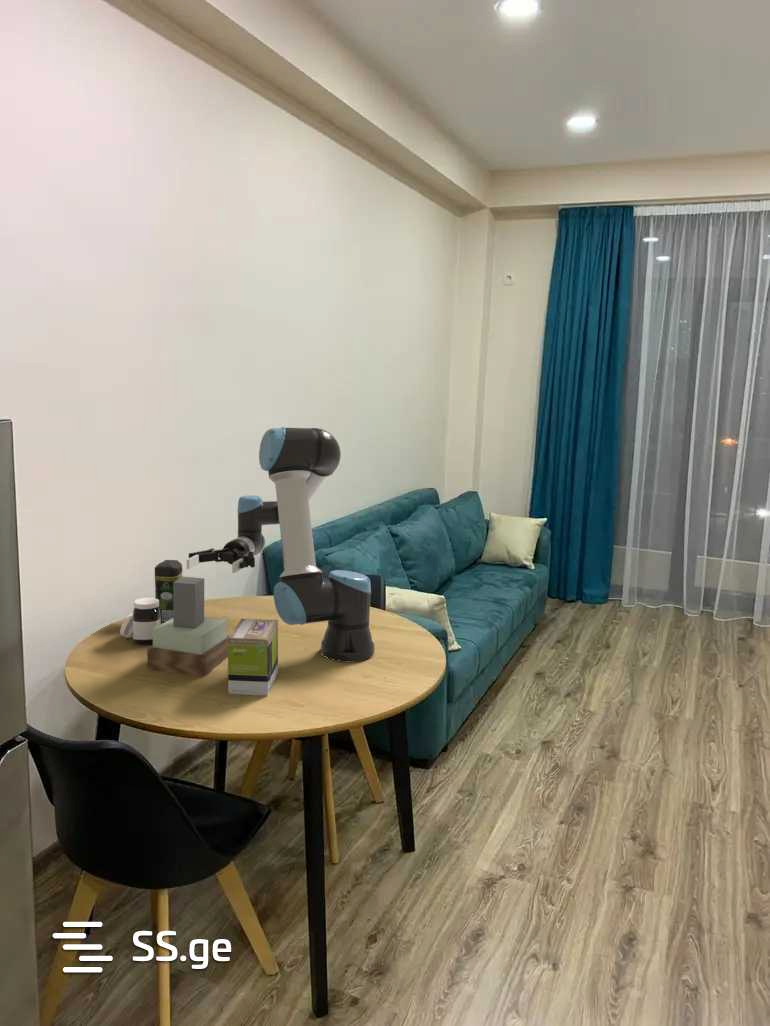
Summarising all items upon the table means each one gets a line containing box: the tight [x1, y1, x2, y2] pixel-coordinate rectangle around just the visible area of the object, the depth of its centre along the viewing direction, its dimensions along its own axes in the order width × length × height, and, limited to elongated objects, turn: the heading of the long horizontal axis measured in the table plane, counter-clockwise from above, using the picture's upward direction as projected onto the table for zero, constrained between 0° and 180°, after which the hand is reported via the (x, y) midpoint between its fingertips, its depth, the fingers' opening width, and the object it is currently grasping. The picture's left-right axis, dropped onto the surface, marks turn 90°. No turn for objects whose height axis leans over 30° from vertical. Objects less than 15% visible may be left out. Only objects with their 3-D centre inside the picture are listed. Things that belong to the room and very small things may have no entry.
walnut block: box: [146, 634, 230, 677], centre depth 202 cm, size 16×16×6 cm
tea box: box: [227, 618, 279, 696], centre depth 189 cm, size 15×10×15 cm
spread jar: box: [119, 597, 162, 645], centre depth 217 cm, size 12×11×12 cm
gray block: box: [173, 576, 205, 629], centre depth 199 cm, size 6×6×12 cm
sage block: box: [152, 616, 228, 655], centre depth 201 cm, size 14×14×5 cm
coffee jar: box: [154, 559, 183, 624], centre depth 235 cm, size 10×8×19 cm
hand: (210, 566), depth 212 cm, fingers open, 13 cm apart
